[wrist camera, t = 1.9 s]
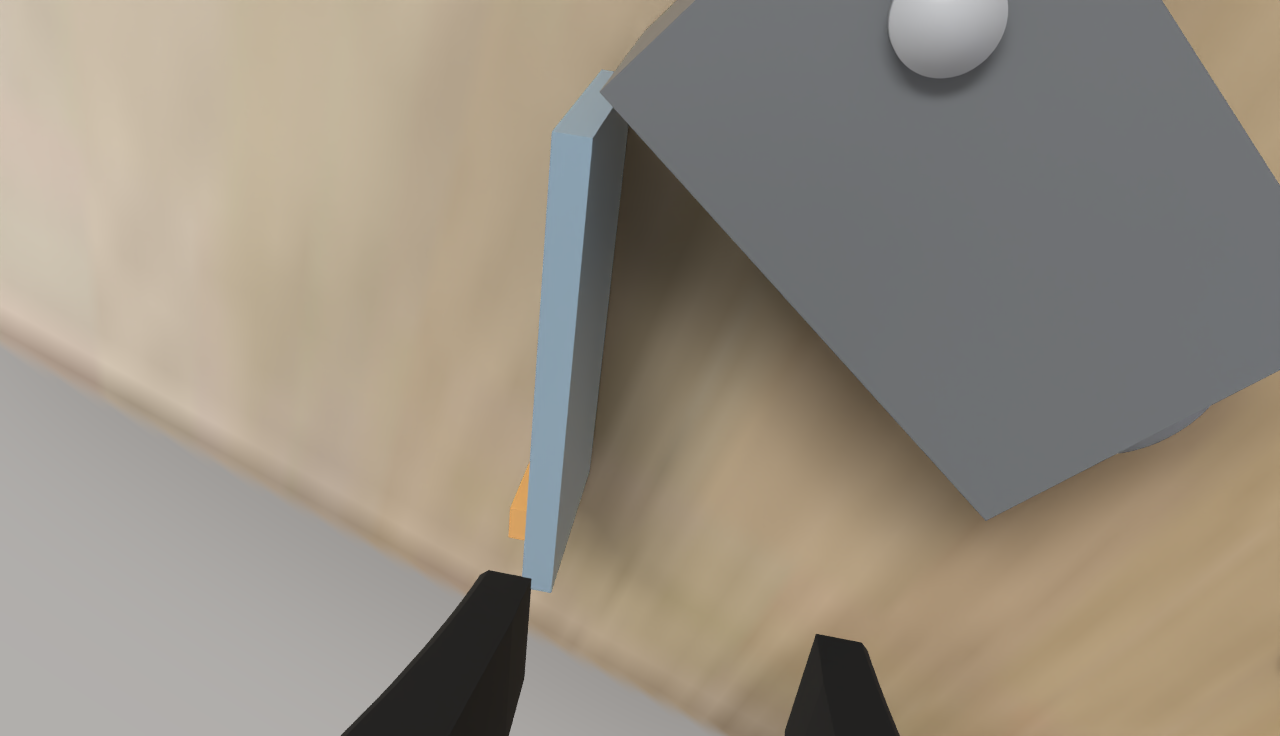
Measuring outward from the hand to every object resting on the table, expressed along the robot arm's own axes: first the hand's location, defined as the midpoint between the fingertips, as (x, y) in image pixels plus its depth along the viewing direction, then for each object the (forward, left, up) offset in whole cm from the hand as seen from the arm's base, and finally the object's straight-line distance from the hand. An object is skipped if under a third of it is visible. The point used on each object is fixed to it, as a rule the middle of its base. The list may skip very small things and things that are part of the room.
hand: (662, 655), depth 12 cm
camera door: (+3, +1, -8) cm, 9 cm away
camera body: (+1, -7, -8) cm, 11 cm away
